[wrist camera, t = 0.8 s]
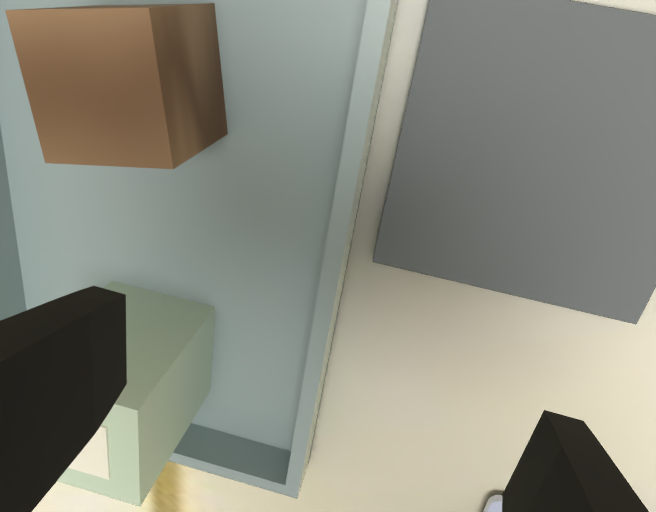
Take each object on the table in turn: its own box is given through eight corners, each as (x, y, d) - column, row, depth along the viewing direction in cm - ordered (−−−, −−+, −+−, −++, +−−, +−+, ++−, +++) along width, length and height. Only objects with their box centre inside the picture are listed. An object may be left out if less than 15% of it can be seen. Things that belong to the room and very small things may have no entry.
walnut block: (227, 134, 18) (173, 169, 15) (121, 130, 19) (45, 163, 15) (214, 3, 16) (148, 7, 13) (97, 5, 17) (5, 10, 14)
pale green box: (210, 390, 24) (138, 509, 18) (116, 365, 24) (19, 472, 19) (215, 307, 21) (136, 412, 16) (112, 280, 22) (2, 374, 17)
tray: (308, 462, 25) (297, 498, 23) (29, 382, 26) (-2, 410, 24) (412, -74, 15) (406, -82, 13) (-51, -149, 16) (-112, -165, 14)
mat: (632, 317, 18) (635, 324, 18) (373, 256, 19) (372, 261, 19) (778, 36, 14) (786, 37, 14) (435, -23, 15) (435, -24, 15)
